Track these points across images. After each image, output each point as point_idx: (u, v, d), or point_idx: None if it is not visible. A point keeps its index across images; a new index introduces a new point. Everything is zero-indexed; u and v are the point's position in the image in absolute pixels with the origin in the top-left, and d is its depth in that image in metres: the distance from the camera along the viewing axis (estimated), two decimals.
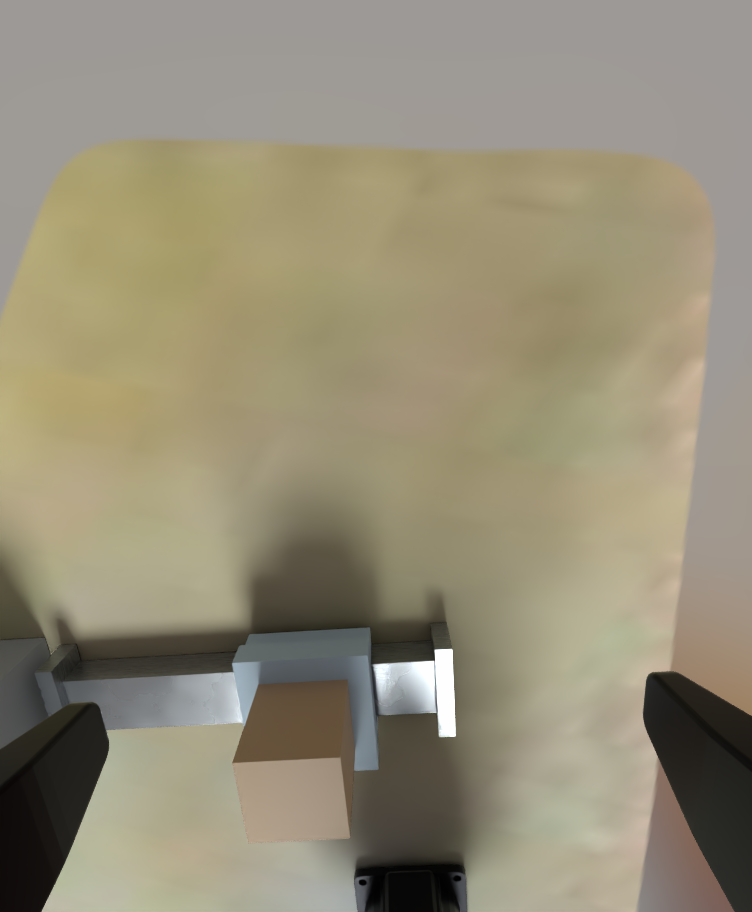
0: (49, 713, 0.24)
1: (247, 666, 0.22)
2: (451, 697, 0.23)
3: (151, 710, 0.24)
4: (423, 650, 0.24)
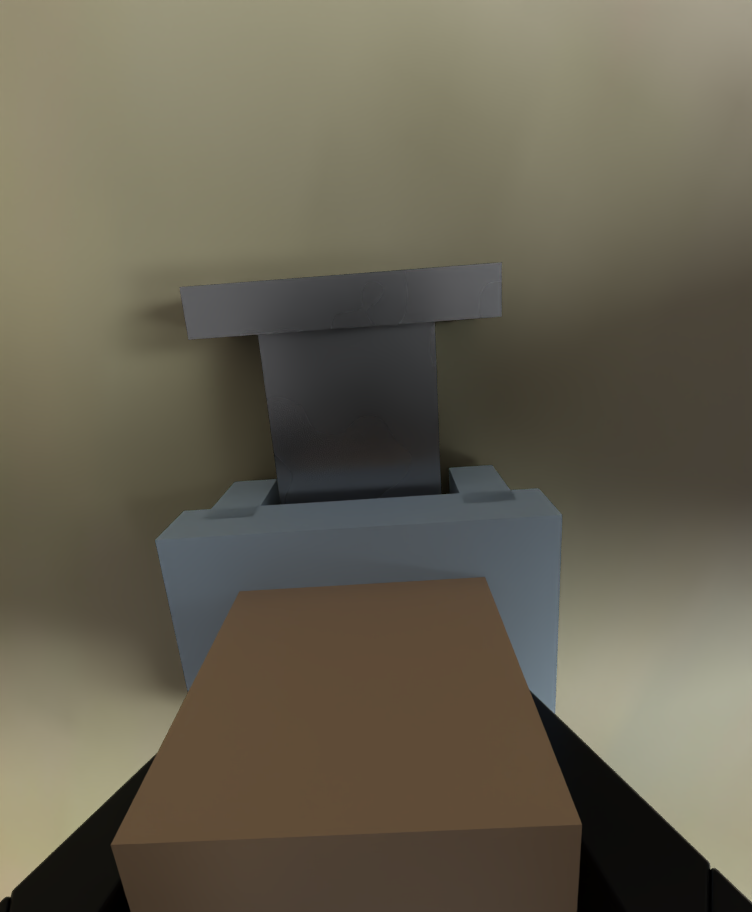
0: None
1: None
2: (352, 282, 0.08)
3: None
4: None
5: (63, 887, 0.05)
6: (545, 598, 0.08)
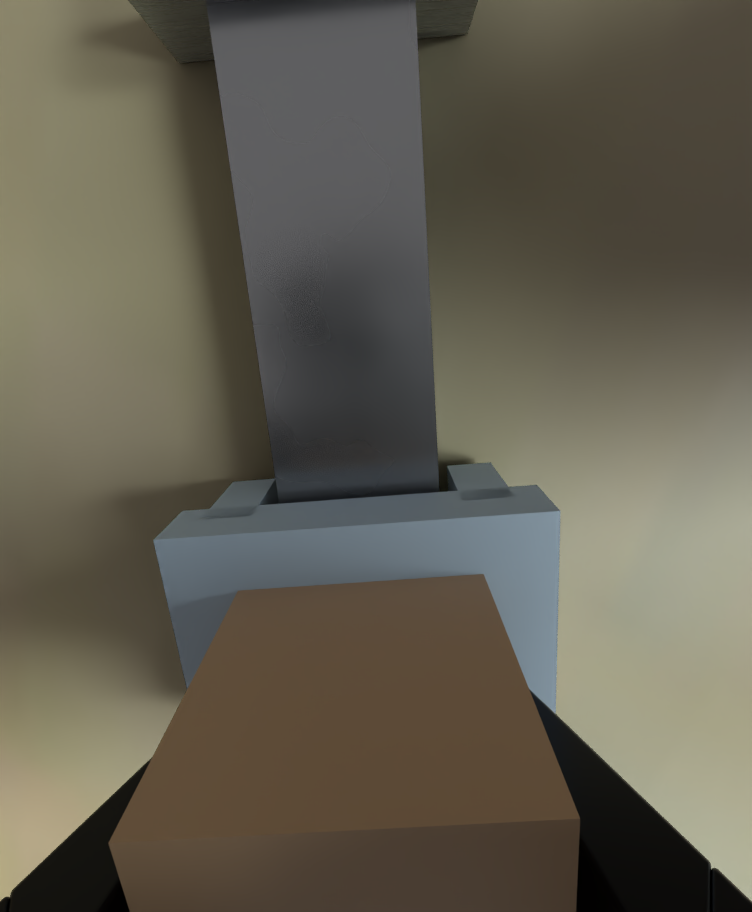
0: None
1: None
2: None
3: None
4: None
5: (63, 887, 0.05)
6: (544, 596, 0.08)
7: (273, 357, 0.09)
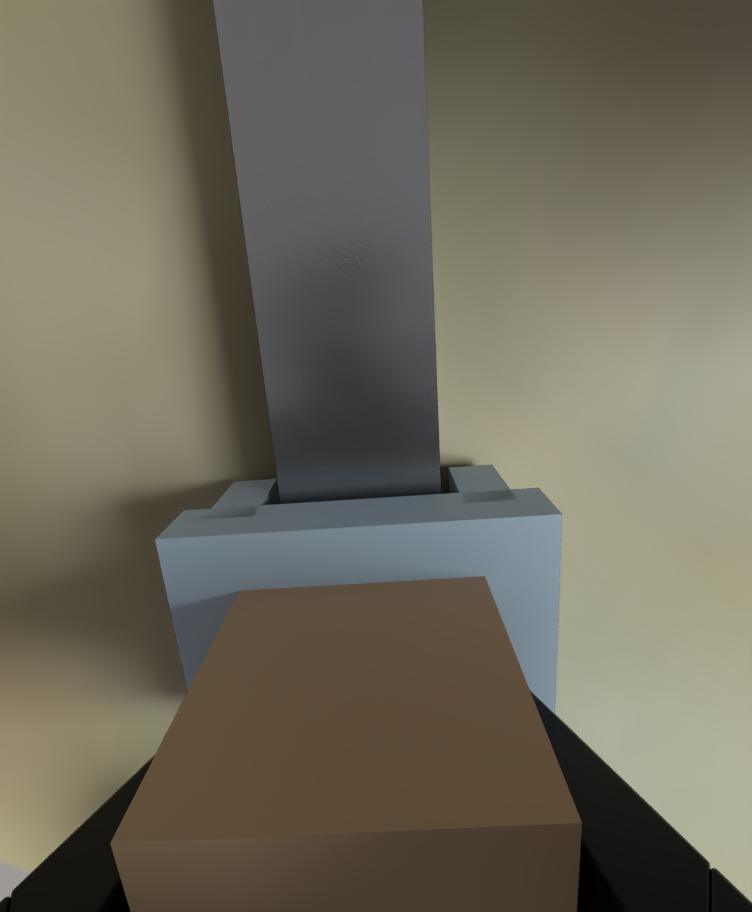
0: None
1: None
2: None
3: None
4: None
5: (63, 887, 0.05)
6: (545, 598, 0.08)
7: (244, 98, 0.07)
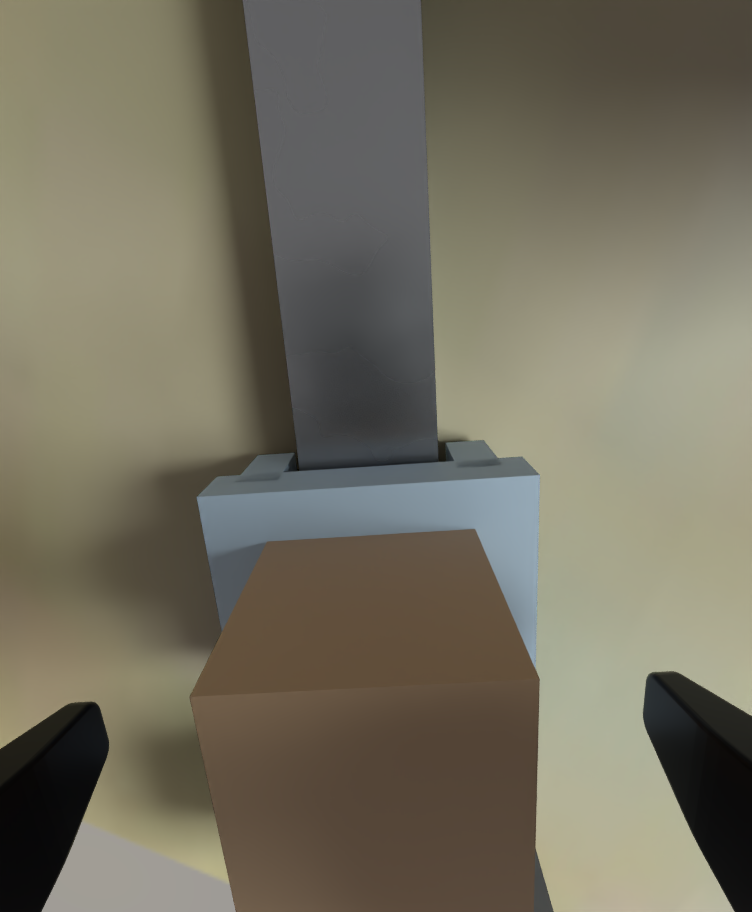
0: None
1: None
2: None
3: None
4: None
5: None
6: (527, 548, 0.10)
7: (272, 124, 0.09)
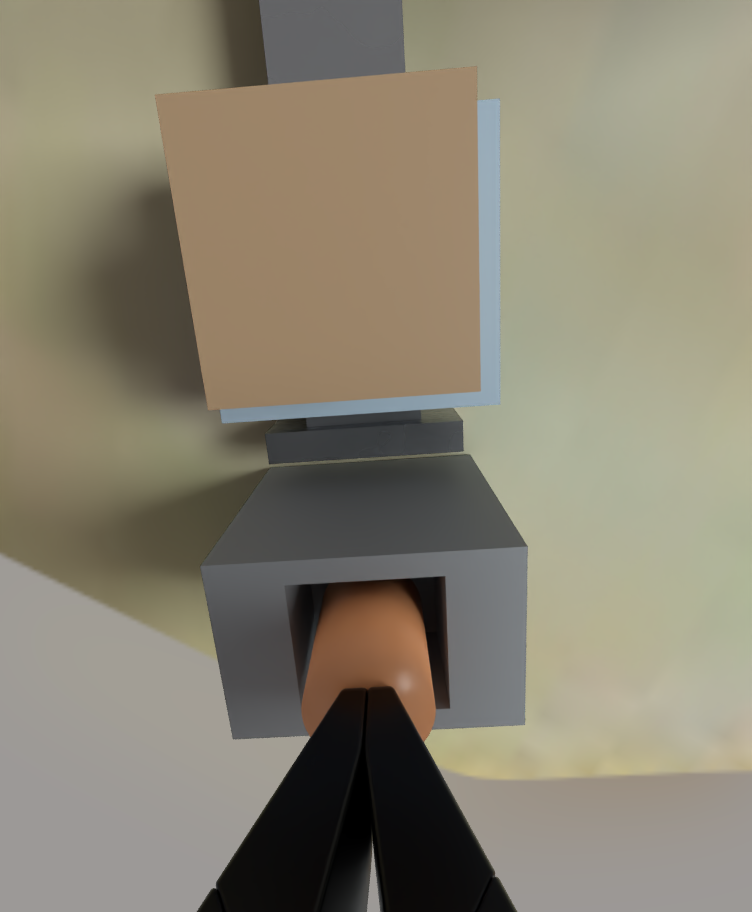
0: (361, 455, 0.13)
1: None
2: None
3: None
4: None
5: (269, 878, 0.05)
6: (489, 184, 0.10)
7: None
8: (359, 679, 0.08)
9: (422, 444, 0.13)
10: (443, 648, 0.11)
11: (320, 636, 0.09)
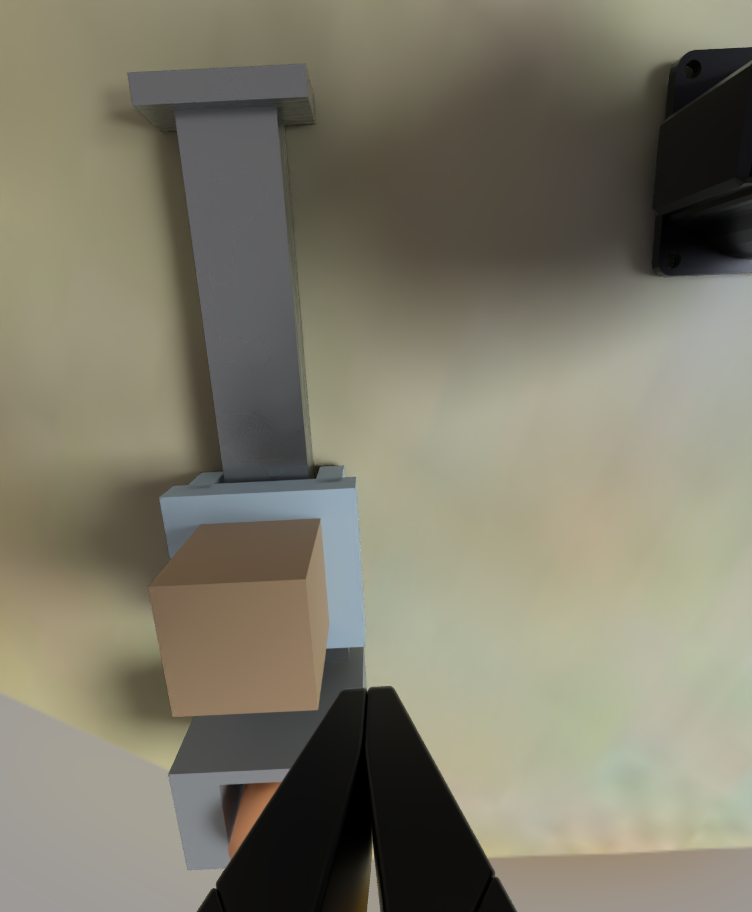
0: None
1: None
2: (224, 73, 0.14)
3: None
4: None
5: (269, 878, 0.05)
6: (351, 530, 0.16)
7: (206, 289, 0.16)
8: None
9: None
10: None
11: (243, 801, 0.16)
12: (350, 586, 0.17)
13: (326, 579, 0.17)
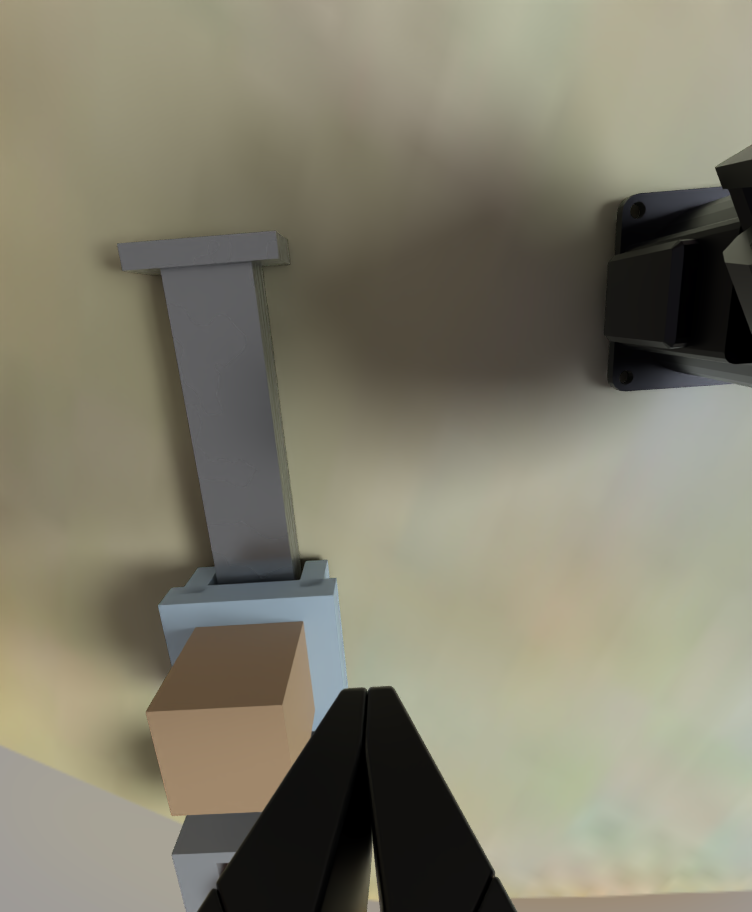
0: None
1: None
2: (203, 241, 0.15)
3: None
4: None
5: (269, 878, 0.05)
6: (331, 631, 0.18)
7: (195, 419, 0.17)
8: None
9: None
10: None
11: None
12: (332, 678, 0.19)
13: (310, 672, 0.19)
